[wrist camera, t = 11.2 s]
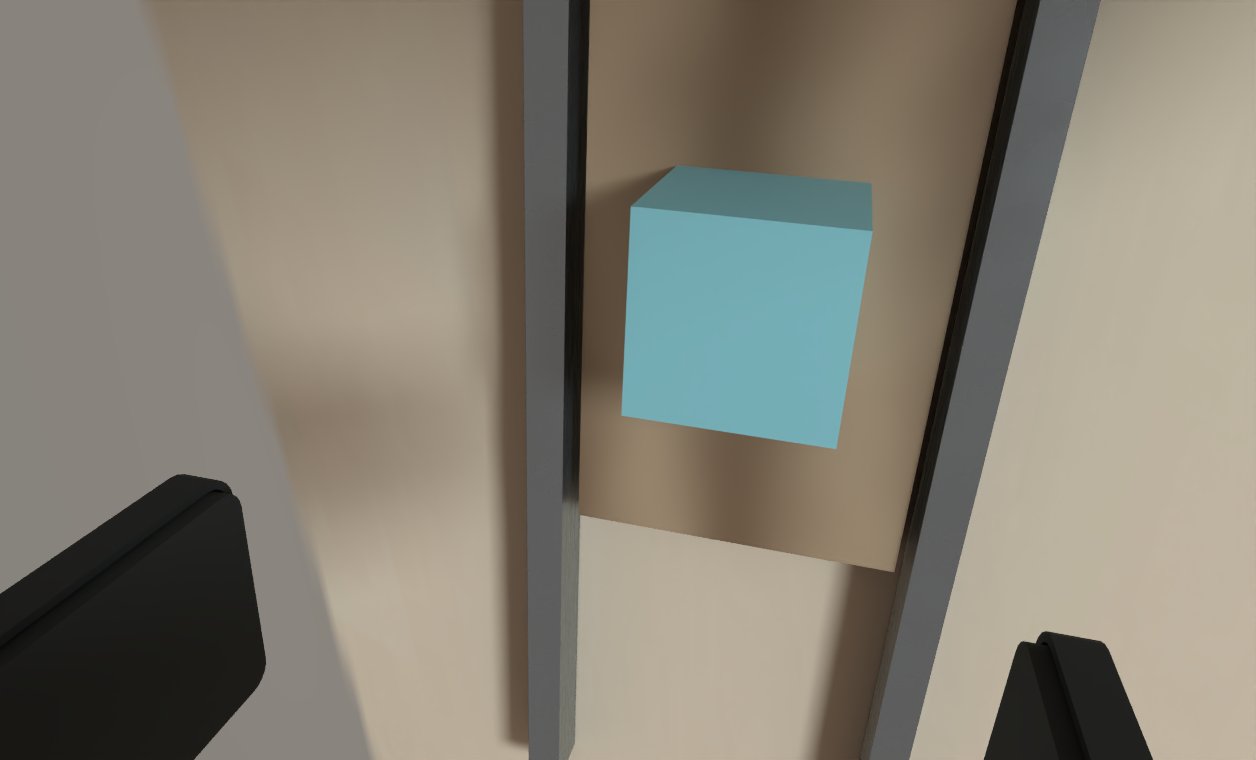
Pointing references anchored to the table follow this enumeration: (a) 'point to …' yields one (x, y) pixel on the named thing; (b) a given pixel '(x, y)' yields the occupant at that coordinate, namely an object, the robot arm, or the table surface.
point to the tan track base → (795, 146)
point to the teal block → (745, 302)
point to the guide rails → (966, 399)
